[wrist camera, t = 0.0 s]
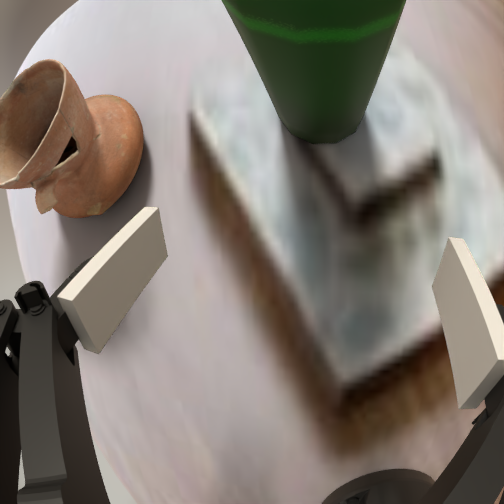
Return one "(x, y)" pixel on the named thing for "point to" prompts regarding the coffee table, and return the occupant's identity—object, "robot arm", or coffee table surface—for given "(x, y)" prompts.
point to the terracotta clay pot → (67, 142)
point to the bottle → (318, 58)
